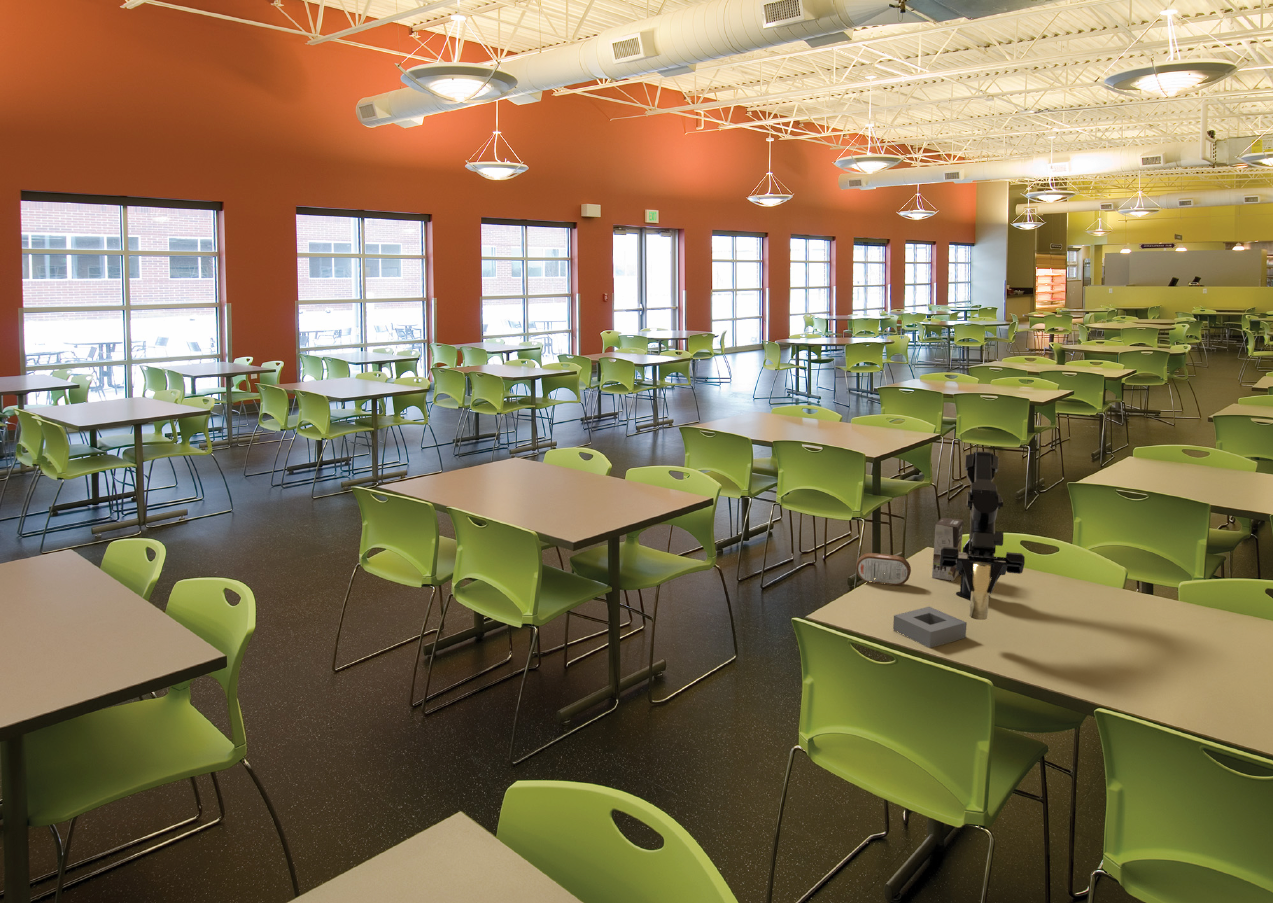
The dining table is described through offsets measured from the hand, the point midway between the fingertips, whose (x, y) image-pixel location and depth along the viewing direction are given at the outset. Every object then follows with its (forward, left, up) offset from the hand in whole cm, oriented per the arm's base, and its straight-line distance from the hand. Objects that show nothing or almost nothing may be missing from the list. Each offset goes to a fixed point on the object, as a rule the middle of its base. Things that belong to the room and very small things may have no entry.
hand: (980, 592), depth 214 cm
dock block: (-11, -5, -13) cm, 18 cm away
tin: (-44, +11, -14) cm, 47 cm away
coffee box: (-40, +32, -14) cm, 53 cm away
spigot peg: (-1, +1, -7) cm, 7 cm away
